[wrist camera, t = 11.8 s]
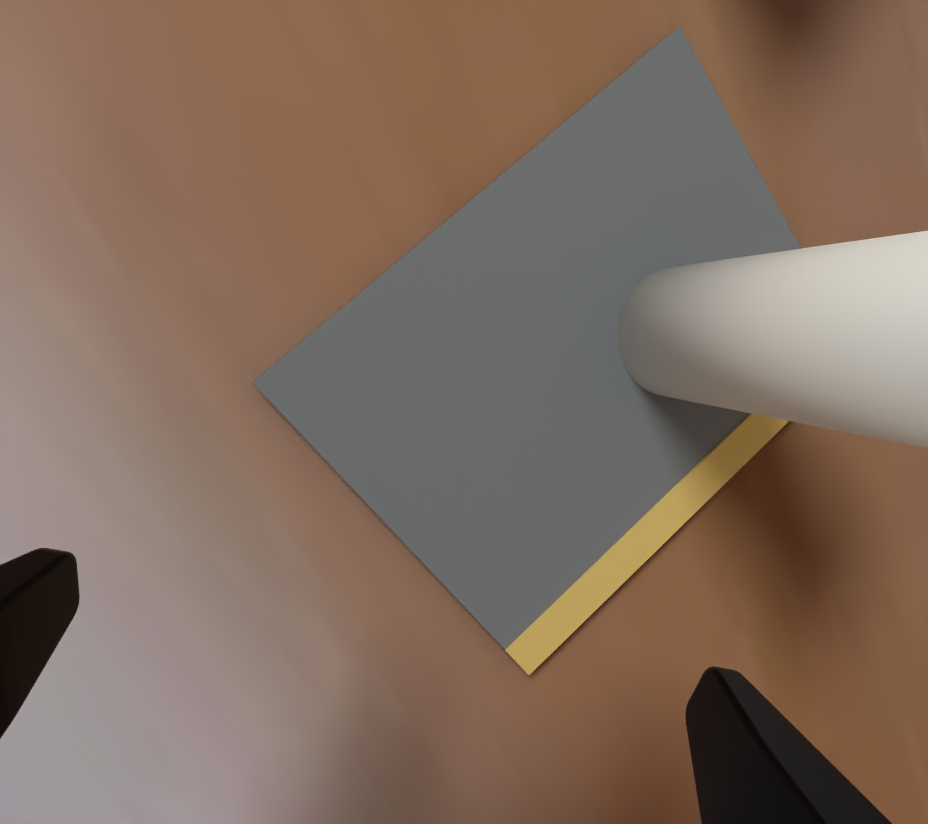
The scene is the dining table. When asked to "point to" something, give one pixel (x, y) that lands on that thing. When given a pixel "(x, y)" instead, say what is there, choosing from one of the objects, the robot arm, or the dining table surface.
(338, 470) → the mat
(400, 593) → the dining table surface
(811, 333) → the skittle
